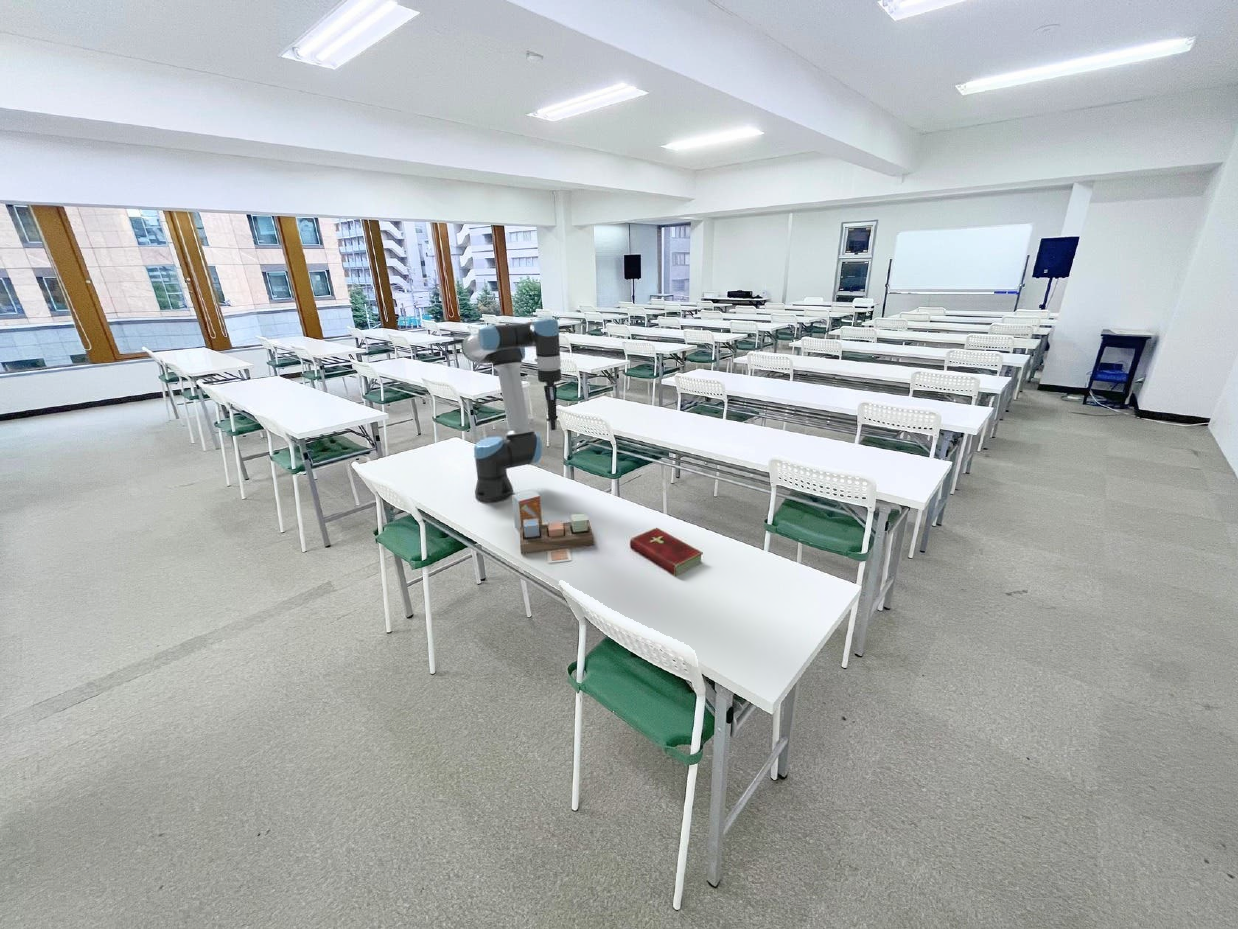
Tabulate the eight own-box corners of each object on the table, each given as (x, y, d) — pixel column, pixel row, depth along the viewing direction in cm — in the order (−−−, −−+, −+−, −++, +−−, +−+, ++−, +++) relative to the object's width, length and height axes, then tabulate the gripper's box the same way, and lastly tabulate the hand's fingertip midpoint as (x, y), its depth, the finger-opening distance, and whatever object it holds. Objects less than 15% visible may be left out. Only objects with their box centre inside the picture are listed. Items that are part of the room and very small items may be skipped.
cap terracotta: (548, 536, 169) (547, 523, 168) (562, 534, 170) (562, 521, 168) (549, 543, 165) (548, 530, 163) (564, 541, 166) (563, 528, 164)
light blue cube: (524, 532, 167) (523, 519, 165) (538, 531, 168) (537, 518, 166) (524, 539, 163) (523, 526, 161) (539, 538, 164) (538, 525, 162)
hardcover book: (675, 578, 148) (675, 566, 146) (629, 549, 163) (629, 538, 162) (702, 563, 155) (703, 552, 153) (656, 537, 170) (656, 526, 168)
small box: (521, 535, 172) (518, 501, 167) (514, 527, 177) (511, 494, 172) (543, 528, 176) (540, 495, 171) (535, 521, 181) (532, 489, 176)
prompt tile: (547, 552, 161) (547, 550, 161) (568, 549, 163) (568, 548, 162) (548, 563, 155) (548, 562, 155) (571, 561, 156) (571, 559, 156)
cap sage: (571, 527, 170) (571, 514, 168) (585, 526, 171) (585, 513, 169) (573, 534, 166) (572, 521, 164) (587, 532, 166) (587, 519, 165)
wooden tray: (520, 536, 171) (519, 527, 170) (589, 528, 176) (588, 519, 174) (521, 554, 160) (520, 544, 159) (594, 545, 165) (593, 536, 163)
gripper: (536, 365, 165) (541, 433, 174) (538, 373, 153) (543, 445, 162) (559, 364, 166) (562, 431, 175) (562, 371, 154) (566, 443, 163)
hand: (553, 437), depth 168 cm, fingers closed
